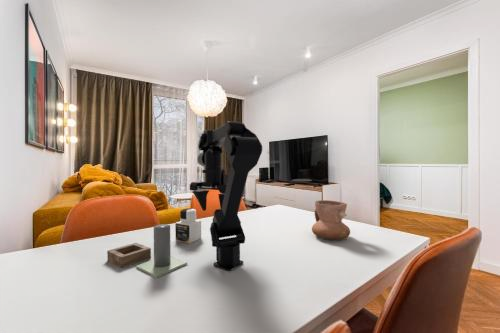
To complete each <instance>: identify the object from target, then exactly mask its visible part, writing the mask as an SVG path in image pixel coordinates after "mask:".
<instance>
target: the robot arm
mask: <svg viewBox="0 0 500 333" xmlns="http://www.w3.org/2000/svg"><path fill="white" fill-rule="evenodd" d="M223 148H224V150H225V151H226V158H227V160H228V163H229V165H230V167H229V173H228V175H227V174H226V172H225V169H222V168H223V164H222V163H223V162H222V157H223V156H222V154H223V152H224V151H223ZM198 151H201V152H200V153H199V154H198V156H197V162H198V164H199V165H200V166H202V167H204V169H202V171H201V172H202V174H204V181H191V183H189V190H190V191H191V193H192V194H193V195H194V196H195V198H196V200H197V201H198V203H199V205H200V208H201V209H202V211H203V212H204V211H205V212H206V211H207V199H208V198H207V197H208V194H209V192H210V190H213V191H219V193H218V200H219V206H220V208H219V209H218V208H217V209H214V212H213V218H212V222H211V223H210V227H209V232H210V237H211V239H210V240H211V246H212V247H214V248H216V250H215V251H216V255H215V256H216V257H215V258H216V260H215V262H213V264H212V265H213V266H214V267H217V268H220V269H224V270H226V271H229V272H230V271H232V270H234V269H236V268H237V267H240V266H241V265H242V264H244V261H243V260H241V244H245V242H246V236H245V232H244V230H243V227H242V224H241V223H242V221H241V220H240V218H239V216H238V215H239V211H240V206H241V203H242V198H243V195H244V191H245V186H246V183H247V179H248V175H249V172H250V171H251V170H253V168H255V167H256V166H257V165H258V162H259V161H260V158H261V155H262V153H263V145H262V143H261V141H260V139H259V137H258V135H257V134H256V133H254V132H252V131H251V130H250V129H248V128H247V127H246V125H245V123H243V122H241V121H232V120H230V121H229V120H228V121H225V122H224V123H223V125H221V126H219V127H217V128H216V129H204V130H203V132H202V133H201V135H200V137H199V140H198Z"/></svg>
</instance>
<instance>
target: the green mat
mask: <svg viewBox="0 0 500 333" xmlns="http://www.w3.org/2000/svg"><path fill="white" fill-rule="evenodd" d="M187 265H188V262H187V261H185V260H181V259H179V258H177V257H174V256H172V255H171V263H170V265H168V266H166V267H160V268H159V267H155V266H154V259H151V260H148V261H145V262H143V263H140V264H138V265H135V266H136V269H137V270H140V271H141V272H144V273H145V274H147V275H149V276H152V277H153V278H155V279H157V278H159V277H161V276H164V275H166V274H168V273H171V272H172V271H175V270H177V269H180V268H182V267H185V266H187Z"/></svg>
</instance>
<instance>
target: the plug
mask: <svg viewBox="0 0 500 333" xmlns="http://www.w3.org/2000/svg"><path fill="white" fill-rule="evenodd" d="M171 256H172V255H171V225H170V224H165V223H163V224H157V225H153V260H154V266H155V267H159V268H160V267H166V266H168V265H170V263H171Z"/></svg>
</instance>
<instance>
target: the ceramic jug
mask: <svg viewBox="0 0 500 333" xmlns="http://www.w3.org/2000/svg"><path fill="white" fill-rule="evenodd" d="M347 206H348V203H347V202H345V201H335V200H324V199H322V200H320V199H319V200H315V201H314V207H315V209H314V219H315V222H314V224H313V225H312V226H311V231H312V233H313V234H314V235H315V236H316V237H318V238H320V239H322V240H326V241H341V240H346V239H347V238H348V237H349V236H350V235H351V229H350V227H349V226H348V225H346V224H345V223H344V222H343V221H342V220H343V218H345V217H347V215H348V214H347V213H346V210H347V208H348V207H347Z"/></svg>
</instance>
